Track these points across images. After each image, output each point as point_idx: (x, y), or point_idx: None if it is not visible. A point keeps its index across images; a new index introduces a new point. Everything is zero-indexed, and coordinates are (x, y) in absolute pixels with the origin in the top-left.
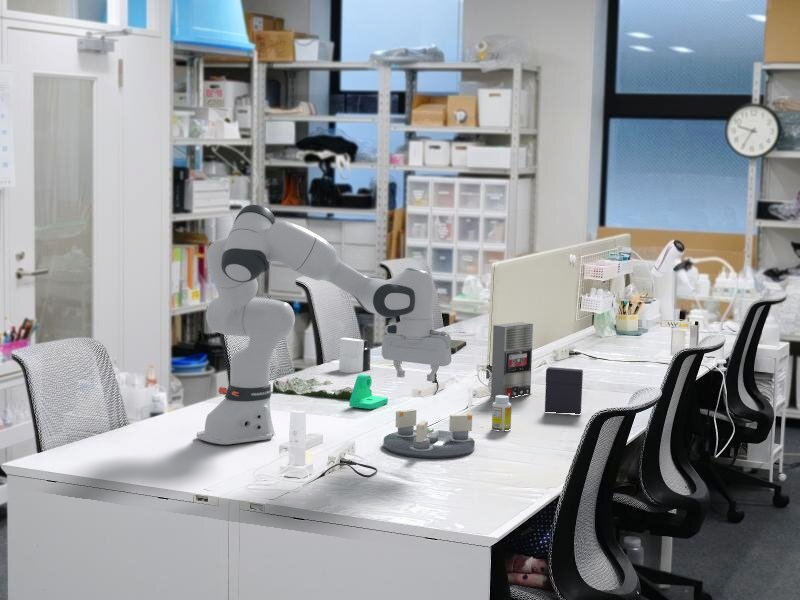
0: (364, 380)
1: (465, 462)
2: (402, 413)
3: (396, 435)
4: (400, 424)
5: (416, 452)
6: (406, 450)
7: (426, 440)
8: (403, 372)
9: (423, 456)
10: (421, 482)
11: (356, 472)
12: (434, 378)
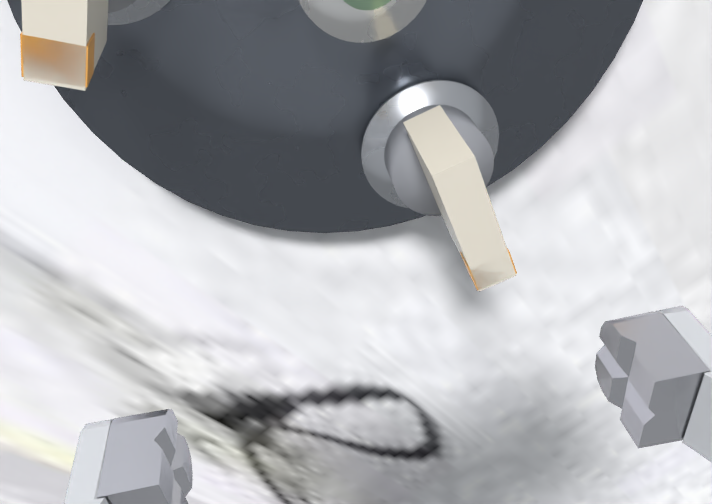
0: None
1: (678, 70)
2: (91, 52)
3: None
4: (103, 36)
5: None
6: (385, 223)
7: (480, 169)
8: (173, 486)
9: None
10: None
11: (373, 453)
12: (696, 325)
